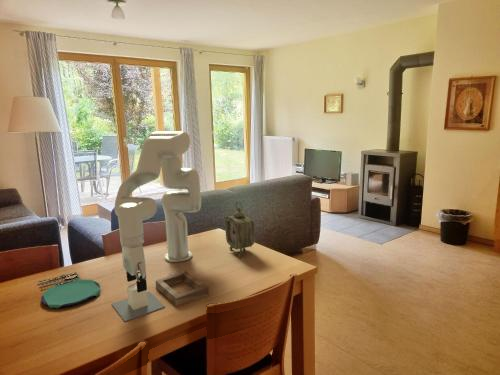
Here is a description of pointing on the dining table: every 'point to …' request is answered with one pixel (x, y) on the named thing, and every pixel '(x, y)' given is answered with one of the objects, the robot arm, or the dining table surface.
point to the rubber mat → (130, 314)
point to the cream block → (136, 297)
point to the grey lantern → (239, 231)
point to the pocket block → (183, 298)
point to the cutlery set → (69, 291)
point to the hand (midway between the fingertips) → (136, 285)
